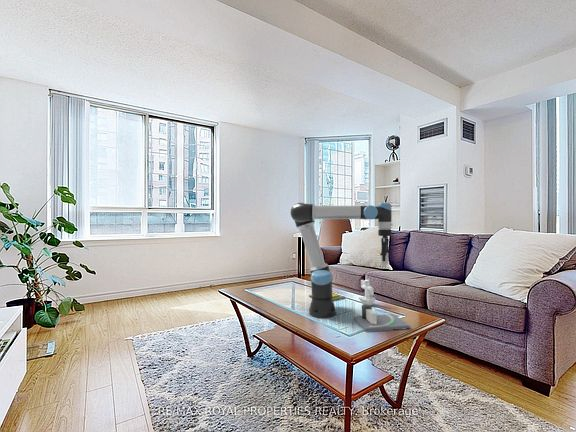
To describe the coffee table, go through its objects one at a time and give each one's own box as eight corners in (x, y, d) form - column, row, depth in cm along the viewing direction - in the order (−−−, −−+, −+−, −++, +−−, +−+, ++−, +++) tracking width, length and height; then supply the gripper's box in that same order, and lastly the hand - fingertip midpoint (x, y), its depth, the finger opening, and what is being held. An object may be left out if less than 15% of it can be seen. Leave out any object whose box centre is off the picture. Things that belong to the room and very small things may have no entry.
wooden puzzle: (325, 303, 191) (325, 297, 191) (307, 297, 207) (307, 292, 207) (345, 299, 201) (345, 293, 201) (327, 293, 217) (327, 288, 217)
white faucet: (368, 307, 179) (367, 281, 179) (357, 303, 187) (357, 279, 188) (377, 305, 183) (376, 280, 183) (366, 301, 191) (365, 278, 191)
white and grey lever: (360, 316, 157) (360, 304, 157) (369, 315, 158) (369, 304, 158) (370, 325, 143) (370, 312, 144) (380, 324, 144) (380, 312, 144)
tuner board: (365, 331, 141) (365, 327, 141) (353, 319, 159) (353, 315, 159) (410, 328, 143) (410, 325, 143) (393, 316, 161) (393, 313, 161)
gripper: (390, 230, 164) (390, 268, 164) (392, 228, 187) (393, 262, 187) (375, 229, 167) (376, 268, 167) (380, 228, 190) (380, 262, 190)
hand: (385, 265), depth 177 cm, fingers open, 13 cm apart
